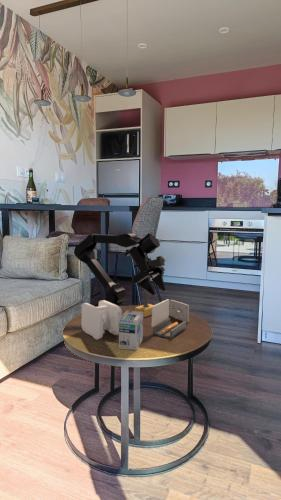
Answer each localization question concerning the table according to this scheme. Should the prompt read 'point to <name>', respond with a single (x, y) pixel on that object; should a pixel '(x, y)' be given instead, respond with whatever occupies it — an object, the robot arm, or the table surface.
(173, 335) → the cable duct
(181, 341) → the table surface
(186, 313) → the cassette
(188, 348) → the table surface
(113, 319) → the cable organizer
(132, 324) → the light bulb box
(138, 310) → the rubber stamp
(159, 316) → the white rectangular panel
